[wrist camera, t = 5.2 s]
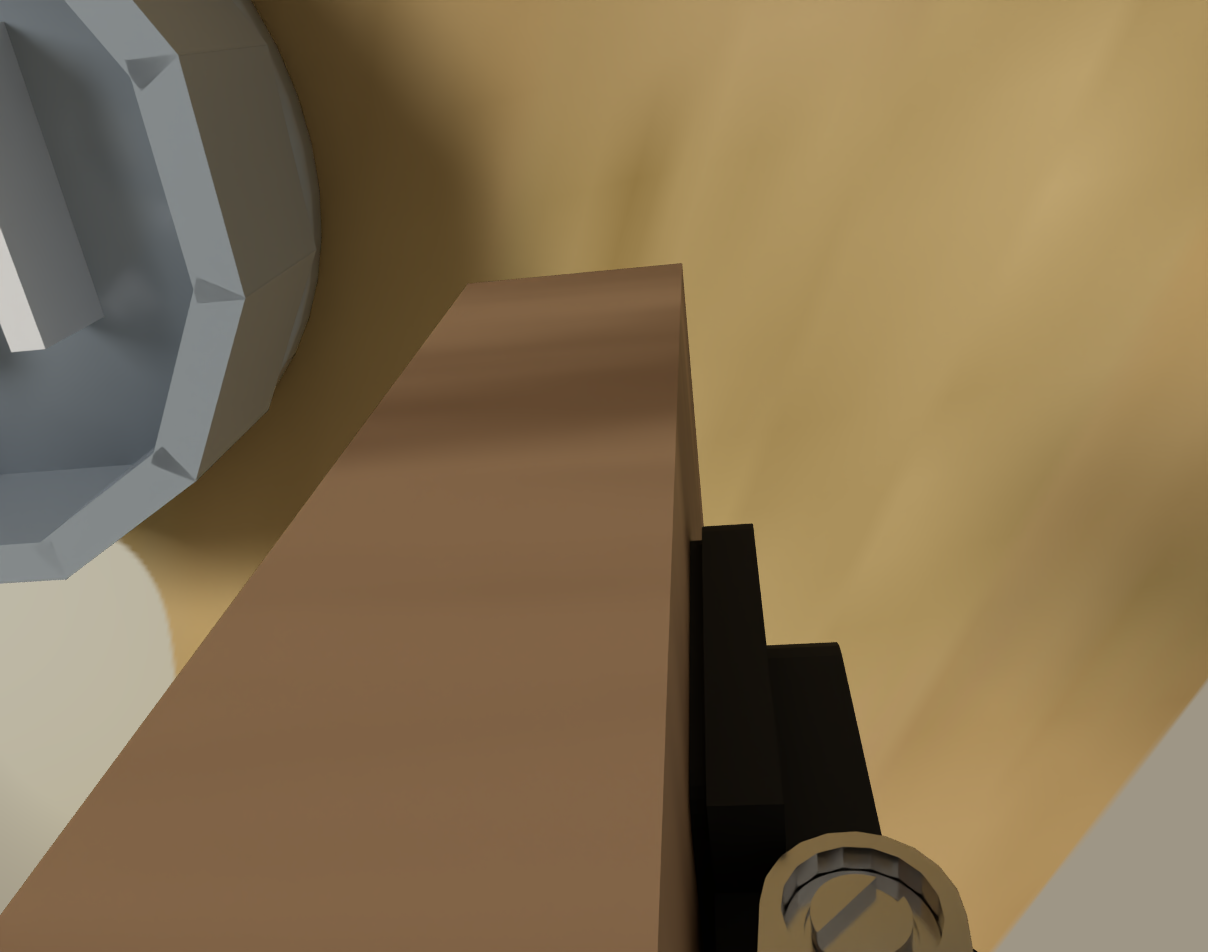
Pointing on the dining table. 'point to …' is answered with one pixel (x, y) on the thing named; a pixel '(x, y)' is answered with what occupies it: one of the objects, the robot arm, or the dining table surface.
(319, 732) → the brown rectangular block
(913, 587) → the dining table surface
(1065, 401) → the dining table surface
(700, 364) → the dining table surface
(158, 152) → the grey bowl
